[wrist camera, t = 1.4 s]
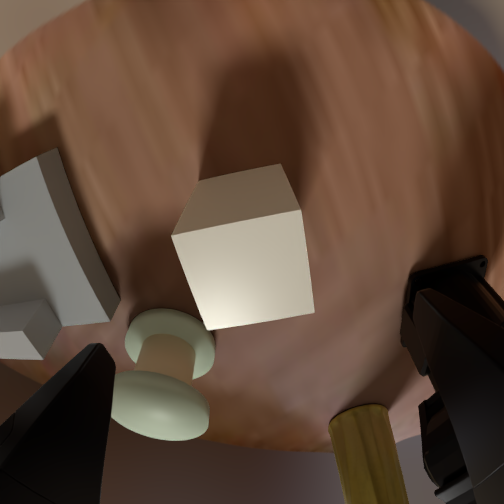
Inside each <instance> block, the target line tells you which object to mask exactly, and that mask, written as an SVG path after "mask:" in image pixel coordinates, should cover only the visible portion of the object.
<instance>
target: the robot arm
mask: <svg viewBox="0 0 504 504" xmlns="http://www.w3.org/2000/svg"><path fill="white" fill-rule="evenodd" d="M487 263H488V260H487V258H486V257H485V256H483V255H479V256H476V257H472V258H468V259H465V260H461V261H457V262H453V263H450V264H446V265H442V266H438V267H434V268H430V269H426V270H422V271H418V272H415V273H413V274H412V275H411V276H410V277H409V281H408V290H407V299H406V304H405V306H404V308H403V315H402V322H401V329H400V334H401V344H402V346H403V347H407V348H408V351H409V353H410V355H411V357H412V359H413V361H414V363H415V365H416V367H417V369H418V372H419V374H420V375H422V376H426V375H428V377H429V379H430V381H431V383H432V385H433V387H434V389H435V393H434V394H433V395H432V396H431V397H430V398H429V399H427V400H424V401H423V402H422V403H421V404H420V405H419V406H418V408H419V417H420V427H421V438H422V453H423V463H424V469H425V470H426V472H427V474H428V476H429V478H430V479H431V481H432V482H433V483H434V484H435V485H436V486H437V487H439V489H437V490H435V492H434V493H435V496H436V497H438V498H439V499H441V500H442V501H444V502H445V503H446V504H504V301H503V300H502V298H501V297H500V296H499V295H498V294H497V293H496V292H495V290H494V289H493V288H492V287H491V286H490V285H489V284H488V283H487V282H486V280H485V279H484V277H485V273H486V268H487ZM417 279H418V280H417ZM416 280H417V281H416ZM415 281H416V282H415ZM115 371H116V366H115V362H114V360H113V358H112V357H111V356H110V354H109V353H108V351H107V350H106V348H105V347H104V345H103V344H101V343H91V344H89V345H87V346H86V347H85V348H84V349H83V350H82V351H81V352H79V353H78V354H77V355H76V356H75V357H74V358H73V359H72V360H71V361H69V362H68V363H67V364H66V365H65V366H64V367H63V368H62V369H61V370H59V371H58V372H57V373H56V374H55V375H54V376H53V377H52V378H51V379H50V380H48V381H47V382H46V383H45V384H44V385H43V386H42V387H41V388H40V389H39V390H38V391H37V392H36V393H35V394H33V396H31V397H30V398H29V399H28V400H27V401H26V402H25V403H24V404H23V405H22V406H21V407H20V408H18V409H17V410H16V412H15V413H13V414H12V415H11V416H10V417H9V418H8V419H7V420H6V421H5V422H4V423H3V424H2V425H1V426H0V504H100V496H101V486H102V485H101V484H102V476H103V467H104V460H105V459H104V458H105V451H106V445H107V438H108V432H109V425H110V419H111V413H112V404H113V391H114V380H115Z"/></svg>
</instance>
